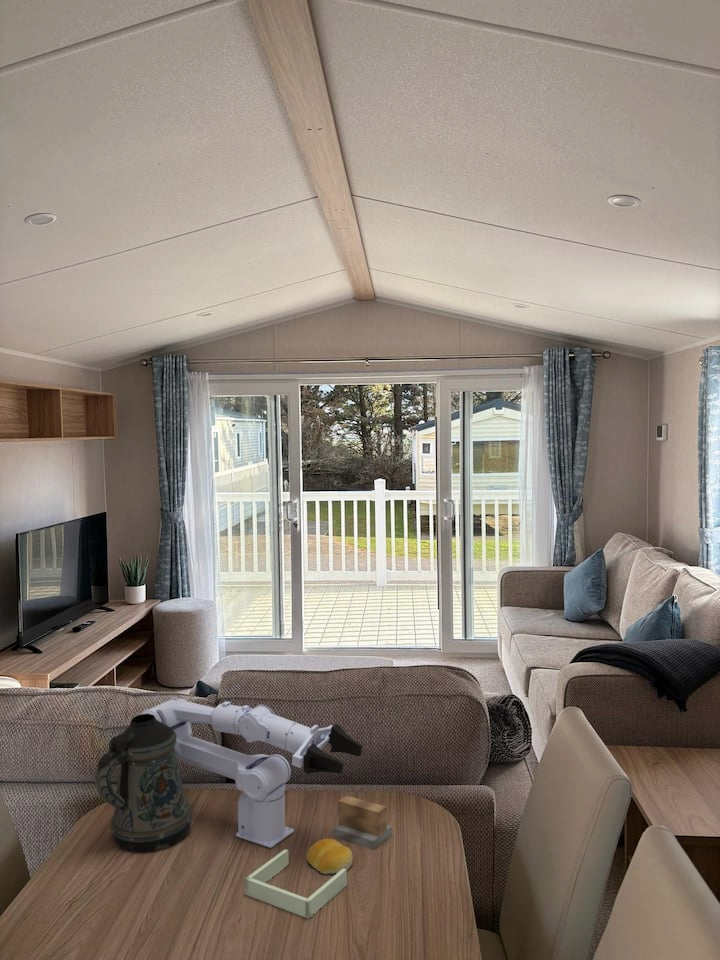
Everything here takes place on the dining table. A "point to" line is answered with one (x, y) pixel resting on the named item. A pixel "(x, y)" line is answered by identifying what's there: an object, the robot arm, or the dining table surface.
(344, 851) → the bread roll
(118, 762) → the beer stein
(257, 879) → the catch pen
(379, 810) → the scraper
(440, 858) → the dining table surface
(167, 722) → the robot arm
